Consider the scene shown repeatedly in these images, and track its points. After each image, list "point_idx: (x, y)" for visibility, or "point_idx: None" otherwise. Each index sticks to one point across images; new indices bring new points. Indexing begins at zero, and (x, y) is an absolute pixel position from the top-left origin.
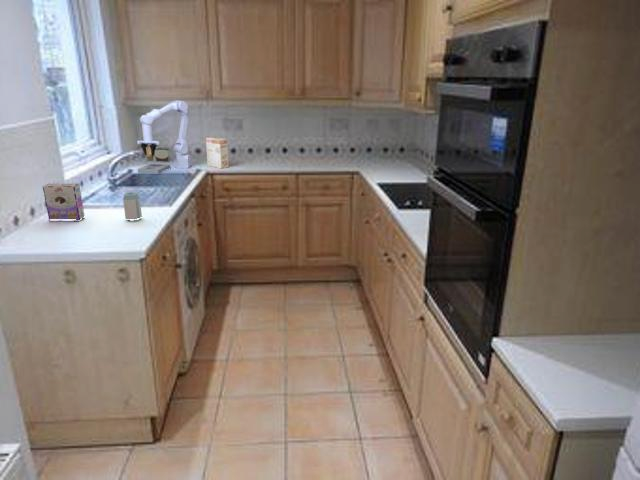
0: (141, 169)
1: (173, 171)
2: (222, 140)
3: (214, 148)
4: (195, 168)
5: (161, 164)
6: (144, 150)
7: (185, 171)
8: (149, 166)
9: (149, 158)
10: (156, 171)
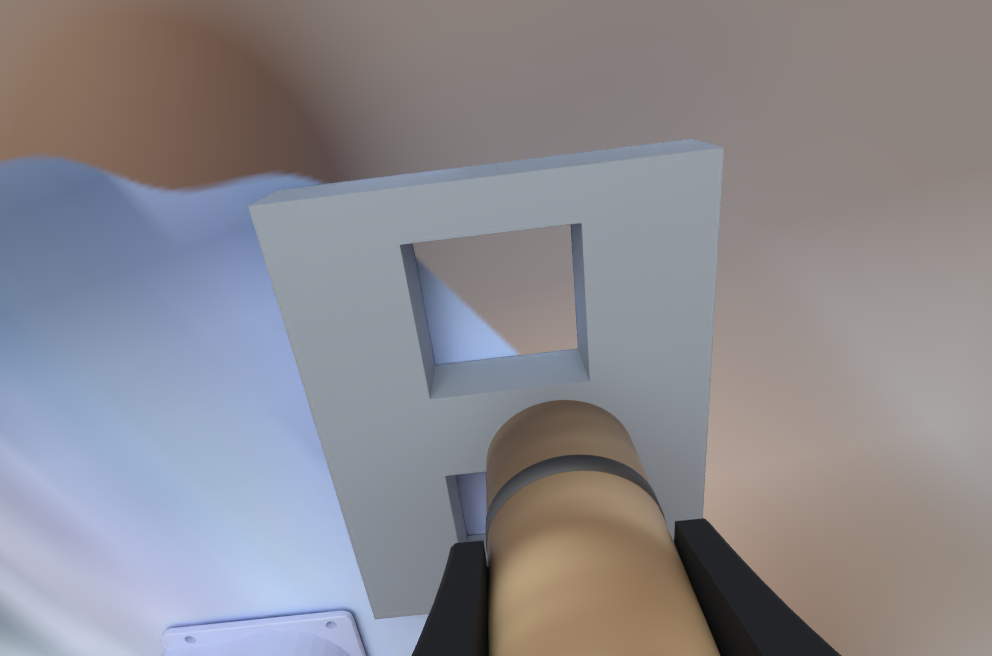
0: (629, 157)
1: (190, 430)
2: None
3: None
4: (78, 652)
5: None
6: (787, 653)
7: (28, 482)
8: None
9: (541, 446)
10: (295, 194)
